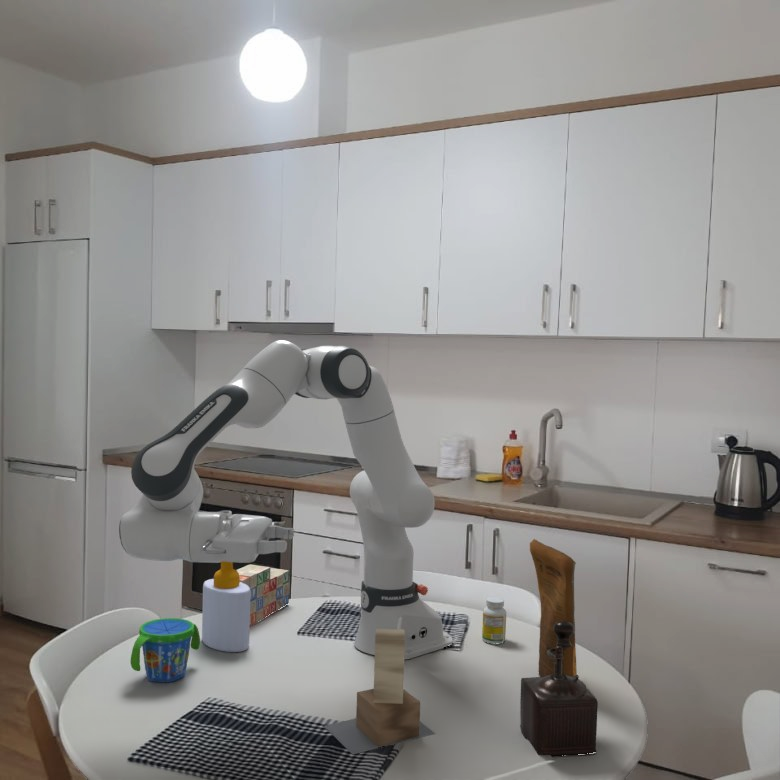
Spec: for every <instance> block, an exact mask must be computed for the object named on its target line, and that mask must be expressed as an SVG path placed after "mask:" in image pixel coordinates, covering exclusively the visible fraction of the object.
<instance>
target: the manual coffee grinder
mask: <svg viewBox="0 0 780 780" xmlns="http://www.w3.org/2000/svg"><path fill="white" fill-rule="evenodd" d="M553 631H554V633H555V634H556V636H557V638H558V642H557V644H556V646H557V647H556V648H553V649H549V650H547V655H548V656H550V657H551V658H552V659H556V674H552V675H548V676H545V677H540V676H533V677H532V676H531V677H522V678H521V680H520V701H519V702H520V704H519V705H520V710H519V711H520V712H519V714H520V716H519V717H520V718H519V719H520V724H519V727H520V732H521V734H522V735H523V737H524V739H525V740H527V741H528V742H529V744H531V746H532V748H533V749H534V751H535V752H536V754H537V755H538V756H550V757H552V758H553V757H554V756H559V757H565V756H564V755H578V754H587V753H588V754H589V753H593V752H597V731H598V728H597V727H598V707H599V706H598V705H599V703H598V699H597V698H596V697H595V695H594V694H593V692H591V691H590V689H588V687H587V685H586V683H584V682H583V681H582V680H580V679H579V678H580V677H579V675H578V674H577V675H576V676H567V675H565V674H564V673H563V674H561V667H562V659H563V654H562V652H563V651H565V650H566V649H567V648H569V647H571V646H572V645H571V643H570V638H571V636H572V634H573V633H574V627H573V625H572V624H571V623H570V622H567V621H559V622H557V623H555V625H554V627H553ZM553 653H556V654H553ZM562 755H563V756H562ZM554 758H555V757H554Z"/></svg>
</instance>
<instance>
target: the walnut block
mask: <svg viewBox="0 0 780 780" xmlns="http://www.w3.org/2000/svg"><path fill="white" fill-rule="evenodd" d="M373 698H374V688H371V689H366V690H362V691H357V692H356V711H355V712H356V713H355V714H356V717H355V719H356V726H357V727H358V728H359V729H360V730H361V731H362V732H363V733H364V734H365V735H366V736H367V737H369V738H370V739H371V740H372V741H373V742H374V743H375V744H376V745H377V746H381V745H385V744H389V743H393V742H397V741H401V740H405V739H409V738H413V737H417V736H419V723H420V722H421V721H420V719H421V717H420V715H421V701H420V700H419V699H417V698H416V697H415V696H413V695H412V694H411V693H409V691H407V690H405V689H404V688H403V704H394V703H373Z"/></svg>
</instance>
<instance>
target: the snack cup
mask: <svg viewBox="0 0 780 780" xmlns="http://www.w3.org/2000/svg"><path fill="white" fill-rule="evenodd" d="M138 632H139V635H138V636H137V638H136V640H135V642H134V644H133V647H132V649H131V651H132V652H131V654H130V666H131V668H132V670H134V671H135V672H140V671H141V664H140V663H141V662H140V661H141V659H140V658H141V657H140V656H141V648H142V654H143V662H144V669H145V675H146V677H147V679H149V681H150V682H156V683H171V682H175V681H176V680H179V679H181V678H184V677H185V674H186V671H187V669H188V667H187V665H188V660H189V655H190V650H194V651H197V650H199V649H200V646H201V637H200V631H199V628H198V626H197V625H196V624H195V623H193V622H192V621H191V620H188V619H185V618H176V617H174V618H173V617H169V618H167V617H166V618H158V619H152V620H148V621H146V622H145V623H142V624H141V626H140V627H139V630H138Z"/></svg>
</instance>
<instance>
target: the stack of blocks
mask: <svg viewBox="0 0 780 780" xmlns="http://www.w3.org/2000/svg"><path fill="white" fill-rule="evenodd" d="M235 570H236V571H238V573H239V577H240V582H242V583H244V584H246V585H247V586H248V587H249V588H250V627H252V626H253V624H254V625H255V623H256V624H258V623H259V622H258V621H260V620H261V621H263V620H264V619H266V618H267V617H266V616H268V615H269V614H271V613H272V612H274V611H277V610H278V609H280V608H281V607H283V606H285V605H286V604H288V603H289V604H290V602H289V601H290V570H289V569H288V570H287V569H280V568H275V567H270V566H263V565H257V564H250V563H249V564H247V565H244V566H243V567H241V568H238V569H235ZM277 612H278V611H277ZM265 617H266V618H265ZM268 617H269V616H268ZM263 618H264V619H263ZM262 619H263V620H262ZM261 621H260V622H261ZM257 622H258V623H257ZM251 625H252V626H251Z"/></svg>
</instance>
